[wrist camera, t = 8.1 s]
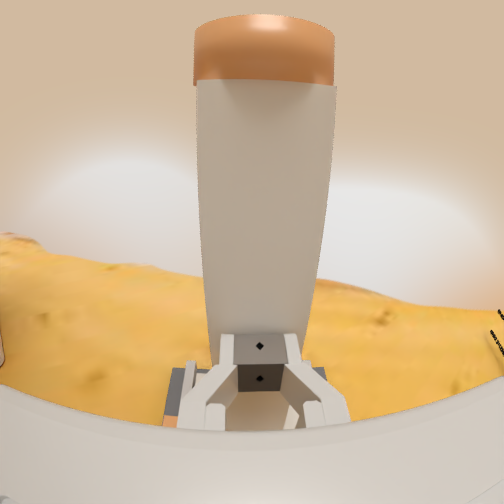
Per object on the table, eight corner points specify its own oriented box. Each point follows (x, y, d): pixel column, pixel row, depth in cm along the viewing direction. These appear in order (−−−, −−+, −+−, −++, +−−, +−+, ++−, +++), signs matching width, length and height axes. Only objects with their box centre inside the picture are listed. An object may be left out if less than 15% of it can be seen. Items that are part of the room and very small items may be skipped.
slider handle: (312, 466, 16) (440, 36, 4) (190, 468, 16) (94, 14, 4) (298, 384, 23) (344, 63, 11) (199, 385, 23) (170, 57, 11)
